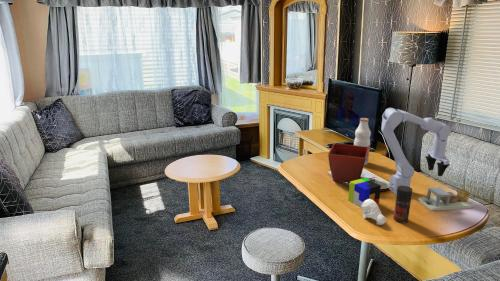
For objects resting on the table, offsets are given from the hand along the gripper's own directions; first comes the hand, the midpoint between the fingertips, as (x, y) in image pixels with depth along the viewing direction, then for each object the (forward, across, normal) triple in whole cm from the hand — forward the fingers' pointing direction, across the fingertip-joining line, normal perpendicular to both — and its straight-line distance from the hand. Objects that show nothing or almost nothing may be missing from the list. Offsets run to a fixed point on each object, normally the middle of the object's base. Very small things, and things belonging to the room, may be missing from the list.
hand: (435, 172), depth 187 cm
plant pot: (+10, +22, +37) cm, 44 cm away
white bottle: (+10, +44, +19) cm, 49 cm away
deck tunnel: (+10, -13, +3) cm, 17 cm away
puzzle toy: (+10, -6, +40) cm, 42 cm away
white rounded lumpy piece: (+10, -23, +43) cm, 50 cm away
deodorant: (+10, -24, +31) cm, 41 cm away
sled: (+9, -13, -3) cm, 16 cm away
